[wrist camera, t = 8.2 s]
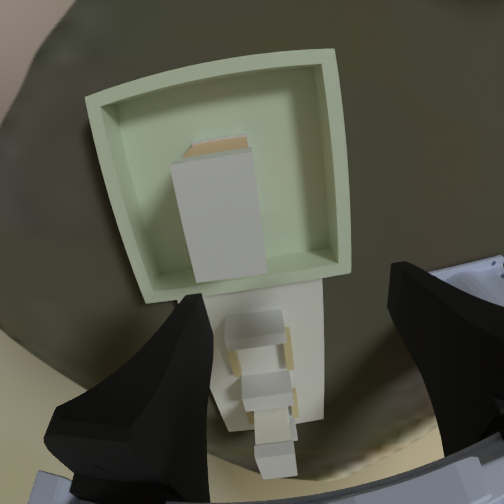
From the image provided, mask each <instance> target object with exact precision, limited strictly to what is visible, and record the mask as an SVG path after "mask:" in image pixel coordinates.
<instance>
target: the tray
mask: <svg viewBox="0 0 504 504" xmlns="http://www.w3.org/2000/svg"><path fill="white" fill-rule="evenodd" d="M85 101H86V106H87V111H88V116H89V120H90V125H91V129H92V134H93V138H94V142H95V147H96V151H97V155H98V159H99V163H100V166H101V170H102V174H103V178H104V181H105V185H106V188H107V192H108V195H109V199H110V202H111V206H112V209H113V212H114V215H115V219H116V222H117V225H118V228H119V231H120V234H121V237H122V240H123V243H124V246H125V249H126V252H127V255H128V258H129V260H130V263H131V266H132V269H133V271H134V274H135V277H136V280H137V282H138V285H139V287H140V290H141V293H142V295H143V298H144V300H145V303H146V304H147V303H155V302H163V301H171V300H179V299H183V298H184V296H185V295H189V294H197V293H202V296H209V295H216V294H223V293H230V292H237V291H243V290H250V289H257V288H263V287H270V286H276V285H282V284H289V283H295V282H301V281H307V280H313V279H319V278H325V277H331V276H336V275H342V274H348V273H351V222H350V196H349V177H348V162H347V149H346V137H345V127H344V117H343V108H342V99H341V91H340V83H339V76H338V69H337V62H336V56H335V50H334V49H312V50H296V51H284V52H274V53H264V54H256V55H249V56H242V57H235V58H229V59H223V60H217V61H212V62H207V63H202V64H197V65H192V66H188V67H183V68H179V69H175V70H171V71H167V72H163V73H159V74H155V75H151V76H148V77H144V78H141V79H137V80H134V81H131V82H128V83H124V84H121V85H118V86H115V87H112V88H109V89H106V90H103V91H100V92H98V93H95V94H92V95H89V96H87V97H85ZM245 132H247V134H248V140H249V147H251V149H252V154H253V161H254V168H255V176H256V184H257V191H258V199H259V207H260V214H261V222H262V230H263V238H264V246H265V254H266V262H267V270H268V274H262V275H254V276H246V277H239V278H231V279H223V280H215V281H207V282H199V283H196V279H195V275H194V271H193V267H192V263H191V259H190V255H189V251H188V247H187V243H186V238H185V234H184V230H183V225H182V221H181V217H180V212H179V208H178V203H177V199H176V194H175V189H174V185H173V180H172V175H171V170H170V165H171V163H172V162H173V161H174V160H175V159H180V158H182V157H183V156H184V155H185V154H186V152H187V151H188V150H189V149H190V148H191V147H192V142H193V141H194V140H200V139H205V138H211V137H218V136H224V135H231V134H238V133H245Z"/></svg>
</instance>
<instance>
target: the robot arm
mask: <svg viewBox="0 0 504 504" xmlns="http://www.w3.org/2000/svg"><path fill="white" fill-rule="evenodd" d="M503 262H504V257H503V256H501V255H498V256H494V257H490V258H486V259H482V260H478V261H474V262H470V263H466V264H461V265H457V266H453V267H448V268H444V269H440V270H435V271H431V272H426V271H424V270H422V269H421V268H419V267H417V266H415V265H413V264H411V263H408V262H406V261H403V262H397V263H392V264H391V272H390V283H389V294H388V303H387V308H388V310H389V313H390V315H391V318H392V320H393V323H394V325H395V327H396V329H397V331H398V333H399V335H400V336H401V338H402V340H403V342H404V344H405V345H406V347H407V349H408V351H409V353H410V354H411V356H412V358H413V360H414V362H415V363H416V365H417V367H418V369H419V371H420V373H421V375H422V378H423V380H424V383H425V385H426V388H427V391H428V394H429V396H430V400H431V403H432V406H433V409H434V412H435V416H436V419H437V423H438V427H439V431H440V435H441V440H442V445H443V451H444V458H442V459H439V460H437V461H434V462H432V463H429V464H426V465H424V466H421V467H418V468H415V469H413V470H410V471H407V472H404V473H401V474H397V475H394V476H391V477H388V478H385V479H381V480H377V481H374V482H370V483H366V484H362V485H358V486H354V487H350V488H345V489H341V490H336V491H331V492H325V493H320V494H315V495H309V496H301V497H294V498H286V499H278V500H267V501H255V502H240V503H238V502H237V503H210V494H209V483H208V467H207V437H206V421H207V404H208V396H209V388H210V381H211V373H212V366H213V357H214V336H213V331H212V328H211V324H210V321H209V318H208V314H207V311H206V307H205V304H204V300H203V297H202V293H197V294H189V295H185V296H184V298H183V299H182V300H181V301H180V303H179V304H178V305H177V307H176V308H175V309H174V311H173V312H172V313H171V314H170V316H169V317H168V318H167V320H166V321H165V322H164V323H163V325H162V326H161V327H160V328H159V329H158V331H157V332H156V333H155V334H154V335H153V336H152V337H151V339H150V340H149V341H148V342H147V343H146V344H145V345H144V346H143V347H142V348H141V349H140V350H139V351H138V352H137V353H136V354H135V355H134V356H133V357H132V358H131V359H130V360H129V361H128V362H126V363H125V364H124V365H123V366H122V367H120V368H119V369H118V370H117V371H115V372H114V373H113V374H111V375H110V376H109V377H108V378H106V379H105V380H103V381H102V382H101V383H99V384H98V385H96V386H95V387H93V388H91V389H90V390H88V391H86V392H85V393H83V394H81V395H80V396H78V397H76V398H74V399H72V400H70V401H68V402H66V403H64V404H62V405H60V406H58V407H56V409H55V411H54V413H53V416H52V418H51V421H50V423H49V426H48V428H47V431H46V433H45V436H44V443H45V445H46V447H47V449H48V450H49V451H50V452H51V453H52V454H53V455H54V456H55V457H56V458H57V459H58V460H59V461H60V462H62V463H63V464H64V465H65V466H66V467H68V468H69V469H70V470H71V471H72V472H73V473H74V476H73V480H72V481H71V480H70V479H68V478H65V477H63V476H59V475H55V474H52V473H48V472H45V471H41V470H40V471H38V473H37V476H36V479H35V482H34V485H33V488H32V491H31V495H30V498H29V501H28V504H504V267H503Z"/></svg>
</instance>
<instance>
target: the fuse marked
mask: <svg viewBox="0 0 504 504" xmlns="http://www.w3.org/2000/svg"><path fill="white" fill-rule="evenodd" d="M170 170H171V175H172V180H173V185H174V189H175V194H176V199H177V203H178V208H179V212H180V217H181V221H182V225H183V230H184V234H185V238H186V243H187V247H188V251H189V255H190V259H191V263H192V267H193V271H194V275H195V279H196V283H199V282H207V281H215V280H223V279H231V278H239V277H246V276H254V275H262V274H268V270H267V262H266V254H265V246H264V238H263V230H262V222H261V214H260V207H259V199H258V191H257V184H256V176H255V168H254V161H253V154H252V149H251V147H249V140H248V134H247V132H245V133H238V134H231V135H224V136H218V137H211V138H205V139H200V140H194V141H193V142H192V147H191V148H190V149H189V150H188V151H187V152H186V154H185V155H184V156H183V157H182V158H180V159H175V160H174V161H173V162H172V163H171V165H170Z"/></svg>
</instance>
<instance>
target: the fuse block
mask: <svg viewBox="0 0 504 504" xmlns="http://www.w3.org/2000/svg"><path fill="white" fill-rule="evenodd" d="M202 297H203V300H204V304H205V307H206V311H207V314H208V318H209V321H210V324H211V328H212V331H213V336H214V357H213V366H212V373H211V381H210V389H211V392H212V394H213V397H214V399H215V401H216V404H217V406H218V409H219V411H220V413H221V416H222V418H223V420H224V422H225V425H226V427H227V429H228V431H229V432H232V431H243V430H253V429H255V425H254V411H257V410H265V409H272V408H280V407H286V406H288V410H289V418H290V432H291V439H292V441H297V440H298V437H297V430H296V424H298V423H304V422H309V421H315V420H320V419H323V418H324V320H323V290H322V278H319V279H313V280H307V281H301V282H295V283H289V284H282V285H276V286H270V287H263V288H257V289H250V290H243V291H237V292H230V293H223V294H216V295H209V296H202ZM181 300H182V299H179V300H177V301H178V304H179V303H180V301H181Z"/></svg>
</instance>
